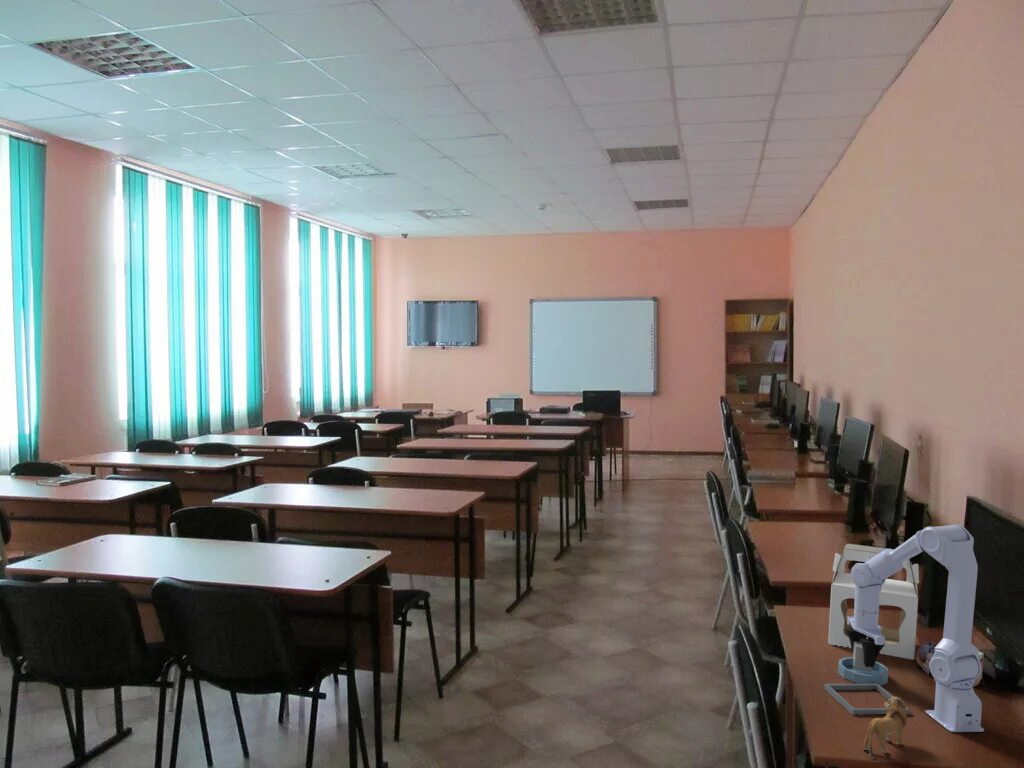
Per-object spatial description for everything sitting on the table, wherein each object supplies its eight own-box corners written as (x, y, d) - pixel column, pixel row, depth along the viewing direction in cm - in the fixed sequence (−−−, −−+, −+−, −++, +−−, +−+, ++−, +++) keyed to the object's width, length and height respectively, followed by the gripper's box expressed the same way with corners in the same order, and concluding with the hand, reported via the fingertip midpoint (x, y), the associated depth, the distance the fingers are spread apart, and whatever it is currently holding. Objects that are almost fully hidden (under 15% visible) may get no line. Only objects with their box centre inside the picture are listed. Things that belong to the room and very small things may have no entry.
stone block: (871, 672, 200) (872, 649, 200) (854, 669, 201) (855, 646, 201) (869, 666, 204) (870, 643, 204) (852, 663, 205) (853, 641, 205)
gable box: (827, 644, 224) (832, 546, 222) (830, 629, 236) (835, 536, 234) (915, 660, 214) (921, 558, 212) (914, 644, 226) (920, 547, 224)
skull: (947, 681, 201) (948, 658, 201) (913, 674, 205) (914, 651, 204) (947, 665, 212) (948, 642, 211) (915, 659, 215) (916, 637, 215)
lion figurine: (884, 730, 174) (887, 690, 174) (910, 739, 170) (913, 699, 170) (857, 753, 164) (860, 711, 163) (884, 764, 160) (887, 720, 159)
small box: (973, 687, 198) (975, 656, 197) (955, 681, 201) (957, 650, 201) (982, 683, 201) (984, 652, 200) (964, 676, 204) (966, 646, 204)
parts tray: (909, 714, 182) (909, 709, 182) (852, 715, 181) (852, 709, 181) (877, 688, 196) (877, 683, 195) (824, 688, 194) (824, 683, 194)
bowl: (897, 685, 197) (897, 675, 197) (852, 685, 196) (853, 676, 196) (872, 666, 209) (872, 657, 209) (829, 666, 208) (830, 657, 208)
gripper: (897, 619, 195) (894, 673, 196) (866, 600, 209) (863, 650, 210) (870, 619, 194) (867, 673, 195) (840, 600, 209) (837, 650, 209)
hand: (863, 661), depth 202 cm, fingers closed on stone block, 5 cm apart
